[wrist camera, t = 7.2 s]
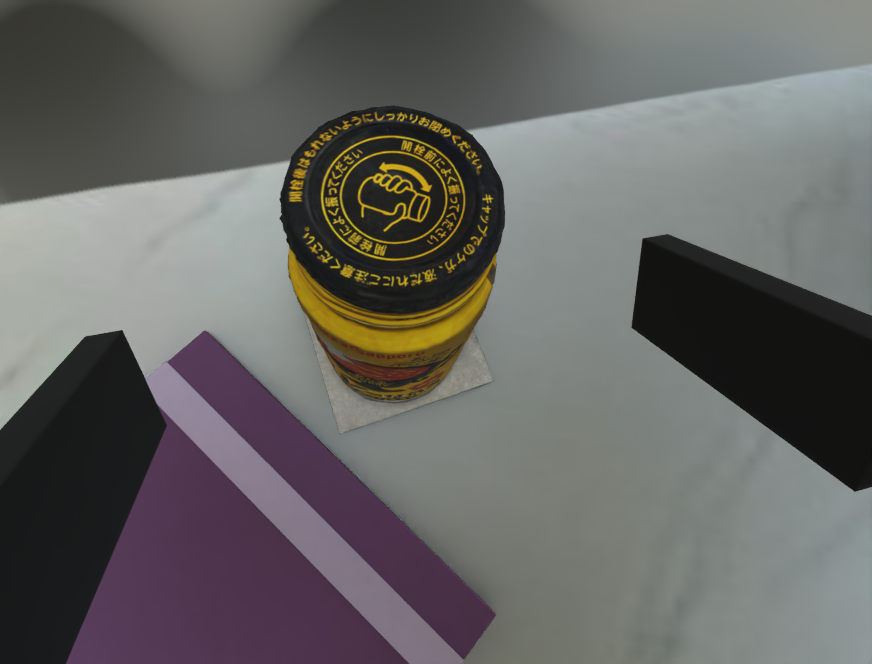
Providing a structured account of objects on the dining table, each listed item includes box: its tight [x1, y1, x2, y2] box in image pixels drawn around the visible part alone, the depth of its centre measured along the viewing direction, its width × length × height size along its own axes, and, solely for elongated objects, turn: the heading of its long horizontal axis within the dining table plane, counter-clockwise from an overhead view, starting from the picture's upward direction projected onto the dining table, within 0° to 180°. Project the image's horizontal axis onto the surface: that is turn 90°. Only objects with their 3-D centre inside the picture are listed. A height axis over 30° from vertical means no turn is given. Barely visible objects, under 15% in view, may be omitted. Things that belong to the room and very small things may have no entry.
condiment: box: [280, 106, 505, 434], centre depth 16 cm, size 7×8×12 cm
